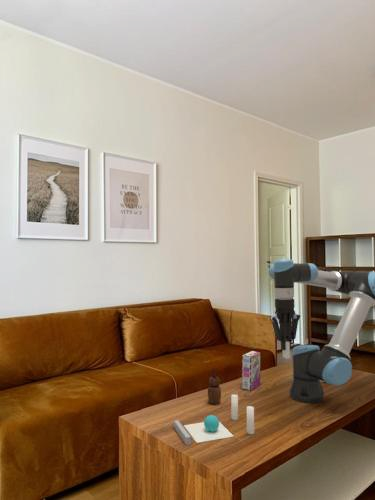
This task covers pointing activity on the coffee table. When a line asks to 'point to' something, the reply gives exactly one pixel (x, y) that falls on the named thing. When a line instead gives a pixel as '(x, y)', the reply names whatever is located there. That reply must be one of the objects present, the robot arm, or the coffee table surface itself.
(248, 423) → the post
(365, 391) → the coffee table surface
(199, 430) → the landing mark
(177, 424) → the wall
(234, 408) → the post
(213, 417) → the ball
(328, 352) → the robot arm
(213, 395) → the wooden figurine
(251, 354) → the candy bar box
